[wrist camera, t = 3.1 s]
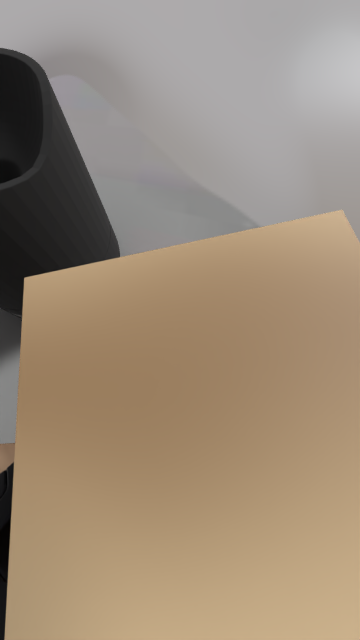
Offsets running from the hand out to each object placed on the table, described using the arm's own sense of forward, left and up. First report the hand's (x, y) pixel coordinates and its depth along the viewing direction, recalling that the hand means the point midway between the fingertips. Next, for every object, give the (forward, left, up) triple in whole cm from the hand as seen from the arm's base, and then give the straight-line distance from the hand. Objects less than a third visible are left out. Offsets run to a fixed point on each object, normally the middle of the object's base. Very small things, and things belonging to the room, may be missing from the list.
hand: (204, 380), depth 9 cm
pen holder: (+13, +4, -7) cm, 15 cm away
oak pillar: (-1, 0, -7) cm, 7 cm away
